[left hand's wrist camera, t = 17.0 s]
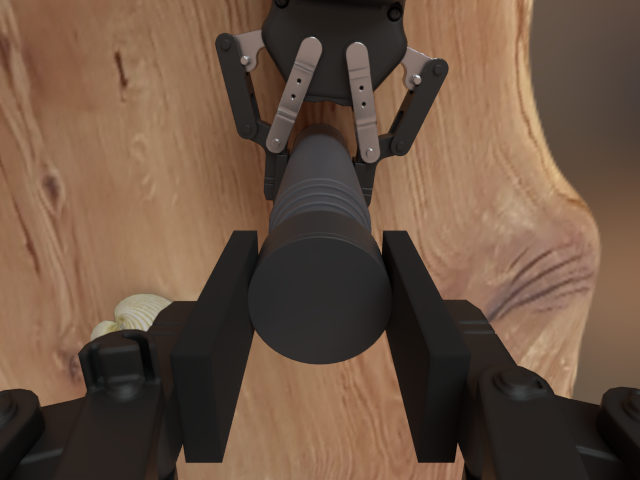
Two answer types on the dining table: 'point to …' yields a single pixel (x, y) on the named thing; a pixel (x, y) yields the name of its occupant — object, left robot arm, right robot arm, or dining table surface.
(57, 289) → the dining table surface
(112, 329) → the seashell
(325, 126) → the bottle
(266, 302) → the cap
